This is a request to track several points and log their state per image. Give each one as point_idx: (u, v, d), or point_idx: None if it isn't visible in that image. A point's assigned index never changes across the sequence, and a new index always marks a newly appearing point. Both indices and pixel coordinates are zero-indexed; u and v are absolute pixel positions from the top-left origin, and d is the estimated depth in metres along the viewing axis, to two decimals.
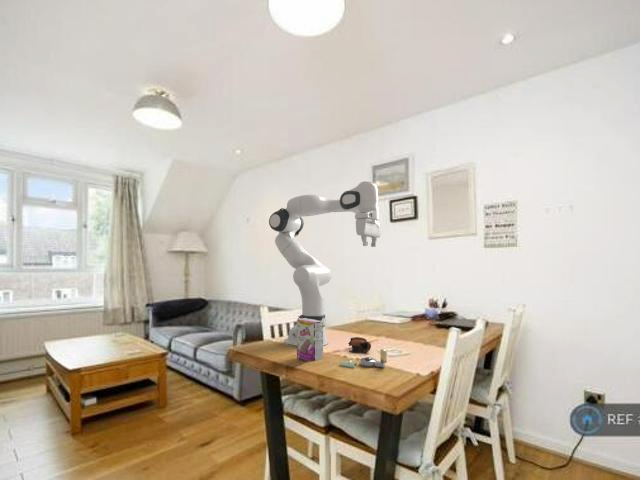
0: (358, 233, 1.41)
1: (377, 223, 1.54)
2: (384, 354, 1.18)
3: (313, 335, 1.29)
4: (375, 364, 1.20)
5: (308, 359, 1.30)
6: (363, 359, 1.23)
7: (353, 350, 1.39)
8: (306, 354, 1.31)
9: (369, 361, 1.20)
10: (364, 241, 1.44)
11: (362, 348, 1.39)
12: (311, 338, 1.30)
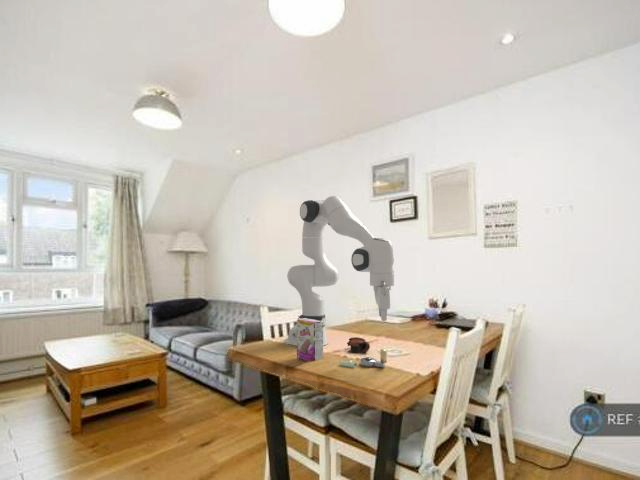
0: None
1: (378, 289, 1.15)
2: (384, 354, 1.18)
3: (313, 335, 1.29)
4: (375, 364, 1.20)
5: (308, 359, 1.30)
6: (363, 359, 1.23)
7: (352, 350, 1.39)
8: (306, 354, 1.31)
9: (369, 361, 1.20)
10: None
11: (361, 348, 1.39)
12: (311, 338, 1.30)
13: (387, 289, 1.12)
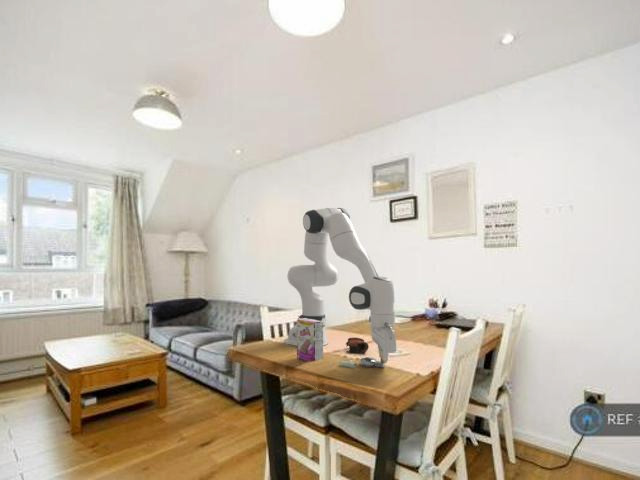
0: None
1: (382, 331, 1.14)
2: None
3: (313, 335, 1.29)
4: (375, 364, 1.20)
5: (308, 359, 1.30)
6: (363, 359, 1.23)
7: (350, 350, 1.39)
8: (306, 354, 1.31)
9: (369, 361, 1.20)
10: None
11: (360, 348, 1.39)
12: (311, 338, 1.30)
13: (393, 332, 1.11)
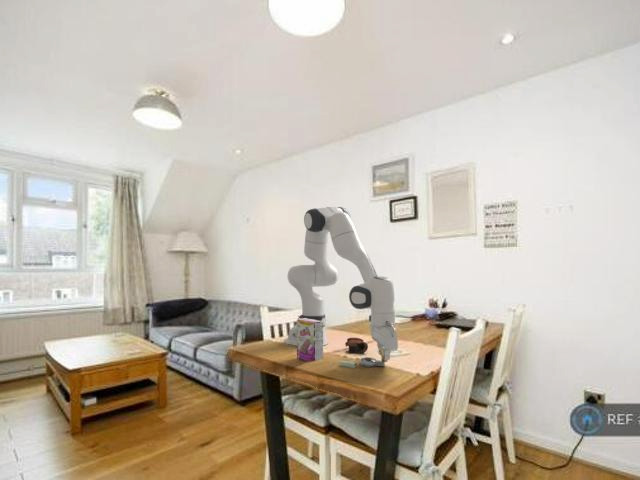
0: None
1: (384, 330, 1.17)
2: None
3: (313, 335, 1.29)
4: (376, 363, 1.20)
5: (308, 359, 1.30)
6: (363, 359, 1.22)
7: (350, 351, 1.39)
8: (306, 354, 1.31)
9: (371, 361, 1.20)
10: None
11: (359, 348, 1.39)
12: (311, 338, 1.30)
13: (394, 330, 1.14)
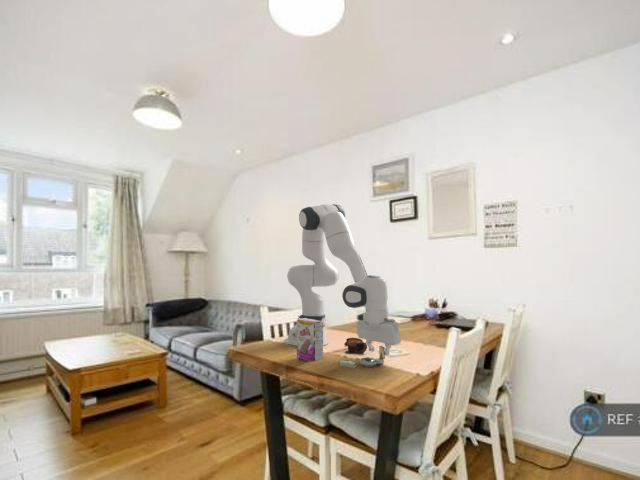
0: None
1: (385, 326, 1.22)
2: None
3: (313, 335, 1.29)
4: (377, 362, 1.22)
5: (308, 359, 1.30)
6: (364, 360, 1.21)
7: (349, 351, 1.38)
8: (306, 354, 1.31)
9: (373, 360, 1.21)
10: None
11: (358, 348, 1.38)
12: (311, 338, 1.30)
13: None
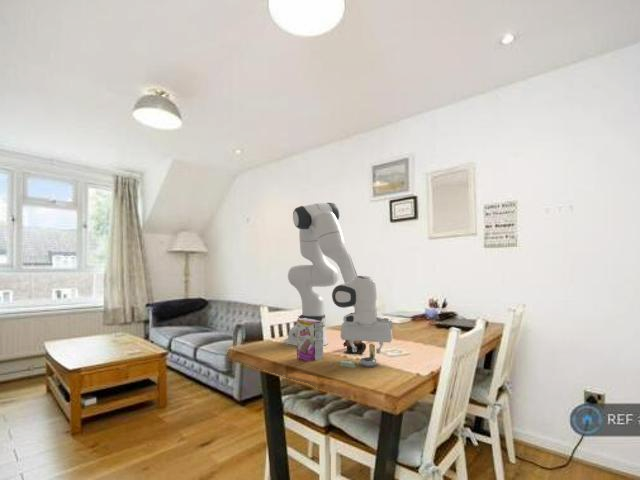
0: None
1: (380, 325, 1.26)
2: None
3: (313, 335, 1.29)
4: None
5: (308, 359, 1.30)
6: (368, 361, 1.20)
7: (348, 351, 1.38)
8: (306, 354, 1.31)
9: (373, 359, 1.23)
10: None
11: (357, 348, 1.38)
12: (311, 338, 1.30)
13: None
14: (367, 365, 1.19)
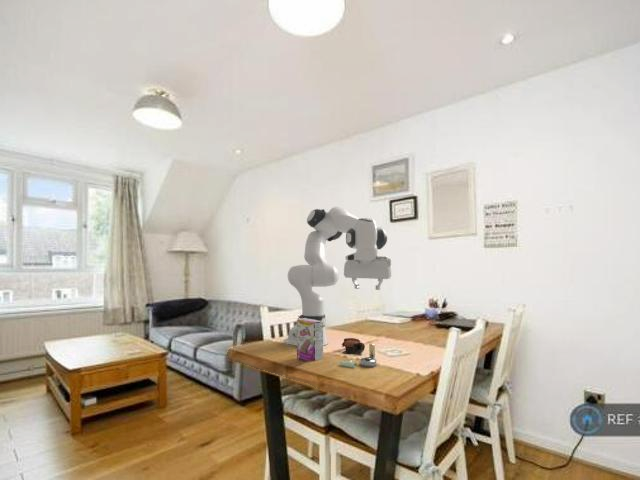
0: None
1: (379, 263, 1.33)
2: None
3: (313, 335, 1.29)
4: None
5: (308, 359, 1.30)
6: (368, 361, 1.20)
7: (347, 351, 1.38)
8: (306, 354, 1.31)
9: (373, 359, 1.23)
10: None
11: (356, 349, 1.38)
12: (311, 338, 1.30)
13: None
14: (367, 365, 1.19)
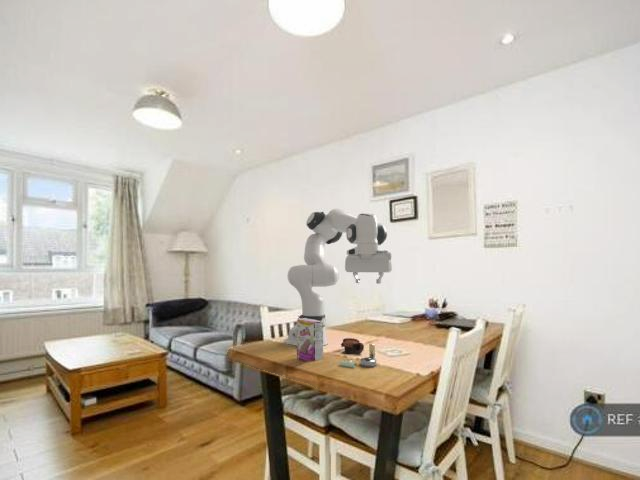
0: None
1: (379, 256, 1.34)
2: None
3: (313, 335, 1.29)
4: None
5: (308, 359, 1.30)
6: (368, 361, 1.20)
7: (346, 351, 1.37)
8: (306, 354, 1.31)
9: (373, 359, 1.23)
10: None
11: (355, 349, 1.38)
12: (311, 338, 1.30)
13: None
14: (367, 365, 1.19)
